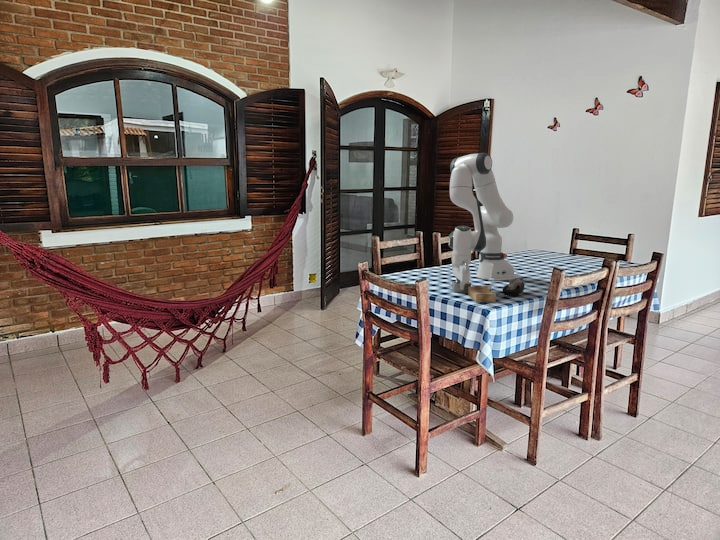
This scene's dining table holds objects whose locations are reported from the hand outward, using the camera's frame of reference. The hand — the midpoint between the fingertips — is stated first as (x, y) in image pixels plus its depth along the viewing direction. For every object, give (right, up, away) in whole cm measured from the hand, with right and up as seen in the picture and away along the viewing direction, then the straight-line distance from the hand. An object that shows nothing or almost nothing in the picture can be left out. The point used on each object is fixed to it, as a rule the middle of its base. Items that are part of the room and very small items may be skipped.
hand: (460, 287), depth 243 cm
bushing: (+13, -2, -1) cm, 13 cm away
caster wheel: (+25, -3, -5) cm, 26 cm away
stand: (+8, -4, -12) cm, 15 cm away
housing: (+1, -2, 0) cm, 2 cm away
